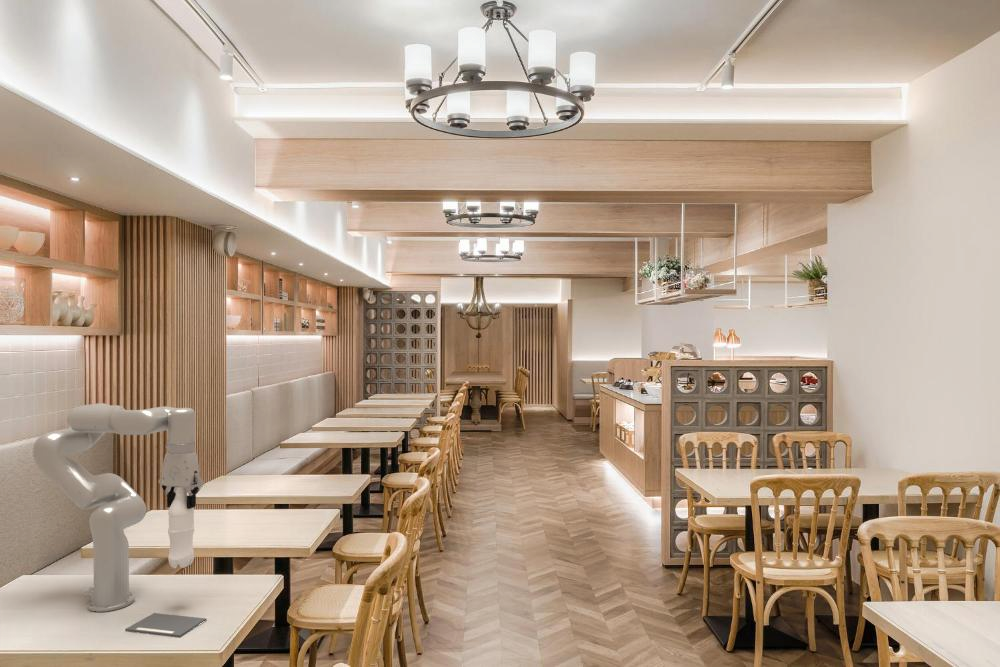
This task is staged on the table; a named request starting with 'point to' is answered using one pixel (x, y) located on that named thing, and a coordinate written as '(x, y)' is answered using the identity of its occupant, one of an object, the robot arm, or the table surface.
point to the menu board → (165, 625)
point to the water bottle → (181, 530)
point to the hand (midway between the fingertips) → (181, 506)
